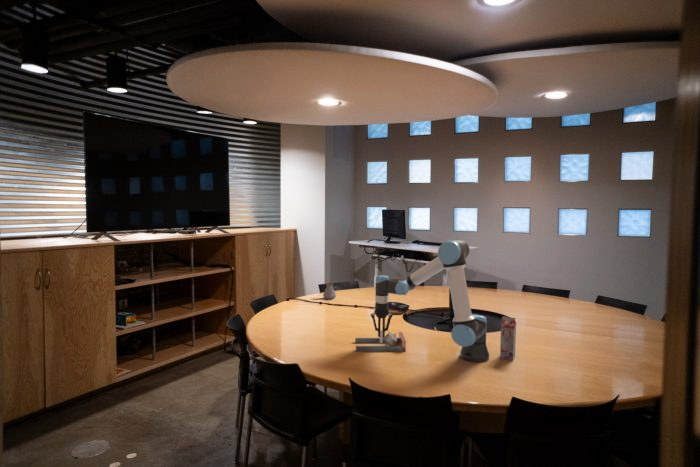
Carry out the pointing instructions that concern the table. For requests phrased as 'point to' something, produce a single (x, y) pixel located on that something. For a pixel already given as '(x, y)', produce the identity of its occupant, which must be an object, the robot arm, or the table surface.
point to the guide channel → (381, 348)
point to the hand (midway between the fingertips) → (381, 342)
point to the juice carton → (508, 338)
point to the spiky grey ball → (390, 339)
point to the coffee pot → (330, 291)
